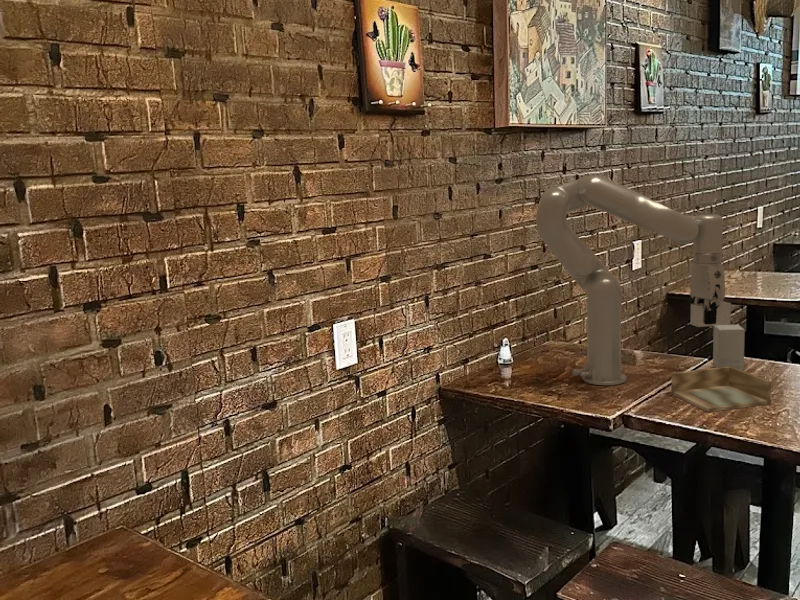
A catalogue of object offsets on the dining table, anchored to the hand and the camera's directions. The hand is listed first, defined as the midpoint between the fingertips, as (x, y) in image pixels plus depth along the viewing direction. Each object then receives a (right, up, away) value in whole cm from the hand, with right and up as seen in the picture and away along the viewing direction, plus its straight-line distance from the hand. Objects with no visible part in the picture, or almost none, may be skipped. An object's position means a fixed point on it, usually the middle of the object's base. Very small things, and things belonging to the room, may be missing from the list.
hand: (705, 321), depth 204 cm
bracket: (+1, 0, +2) cm, 3 cm away
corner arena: (-3, -20, -15) cm, 25 cm away
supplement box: (+13, -15, +14) cm, 24 cm away
